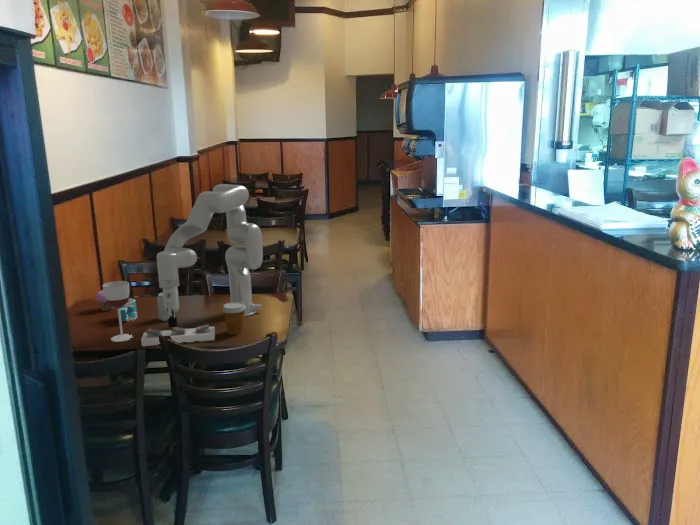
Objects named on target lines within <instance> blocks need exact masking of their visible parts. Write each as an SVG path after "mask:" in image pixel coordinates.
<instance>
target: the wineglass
mask: <svg viewBox="0 0 700 525" xmlns="http://www.w3.org/2000/svg"><path fill="white" fill-rule="evenodd" d="M102 290H103V291H104V295H105V298H106V301H107V303H108V304H109V305H111V306H113V308H115V309H117V308H118V310H117V317H118V316H119V319H118V324H119V334H117V335H114V336H112V337H111V338H110V340H111V341H112V342H115V343H116V342H117V343H118V342H126V341H129V340H131V339H130V338H132V339H133V338H134V336H133V337H132V335H133V334H131V335H129V334H130V333H124V331H123V322H122V321H121V314H120V307H122V306H124V305H125V304H126V303H127V302H128V300H129V299H130V282H129V281H126V280H115V281H109V282H106V283H103V284H102Z"/></svg>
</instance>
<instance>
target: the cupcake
mask: <svg viewBox="0 0 700 525" xmlns="http://www.w3.org/2000/svg"><path fill="white" fill-rule="evenodd" d="M95 301H96V302H97V303H98V304H99V307H100V309H101V311H103V312H106V311H108V310H109V311H112V310H114V307H113V306H111V305H109V304H108V303H107V301H106V298H105V295H104V291H103V289H101V290H100V291H97V293H96V294H95Z"/></svg>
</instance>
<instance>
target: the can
mask: <svg viewBox="0 0 700 525" xmlns="http://www.w3.org/2000/svg"><path fill="white" fill-rule="evenodd" d="M156 301H157V312H158V319H159V320H160V321H161V320H162V322H168V313H166V312H165V309H164V300H163V292H160V293H158V294H157V296H156Z"/></svg>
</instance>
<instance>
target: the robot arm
mask: <svg viewBox="0 0 700 525" xmlns="http://www.w3.org/2000/svg"><path fill="white" fill-rule="evenodd" d="M249 196H250V193H249V190H248V188H247V187H246V186H243V185H241V184H229V183H220V184H216V185H214V187H212V191H202V192H201V193H200V194H198V196H197V197H196V200H195V202H194V205H193V206H192V209H191V211H190V213H189V216H188V217H187V220H186V221H185V222H184V223H183V224H182V225H181V226H179V227H178V228H177V229H176V230H175V231H174V232H173V233H172V234H171V235H170V237H169V238H168V241H167V243H166V245H165V247H164V250H163V251H160V252H157V254H156V264H157V275H158V276H157V277H158V285H159V288H160V289H162V293H163V300H164V309H165V312H166V313H168V321H167V323H168V328H171V329H172V327H178V318H177V317H178V316H177V312H178V311H179V309H180V296H179V290H178V289H179V288H178V287H179V286H180V278H179V269H181V268H190V267H192V266H194V265H195V264H196V262H197V261H198V255H197V253H196V251H194V249H191V248H187V247H184V244H185V243H186V242H187V241H189V240H190V239H191V238H193V237H196V236H198V235H200V234H203V233H204V232H206V231H207V230H208V228H209V227H208V226H209V225H210V222H211V220H212V218H213V217H214V216H213V215H214V214H215V213H219V214H223V213H225V217H226V231H227V238H228V240H229V241H230V242H231V243H234V244H235V243H236V244H241V245H231V246H230V247H228V249H227V250H226V251H225V255H224V256H225V262H226V266H227V271H228V282H229V292H230V303H231V302H242V303H244V305H245V306H246V308H245V315H244V318H246V316H247V317H250V315H251V316H253V315H255V314H256V313H257V310H258V309H259V310H260V309H261V310H262V309H263V304H260V303H254V301H253V300H252V299H253V297H252V282H251V281H252V280H251V279H252V278H251V272H250V270H256V269H258V268H260V267H261V266H262V263H263V258H264V253H263V252H264V251H263V234H262V230H261V228H260V227H259V225H257V224H255V223H253V222H248V221H247V215H246V213H247V212H246V209H245V206H244V205H245V204H246V203H247V202H248V201H249ZM243 245H244V246H243ZM256 309H257V310H256Z"/></svg>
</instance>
